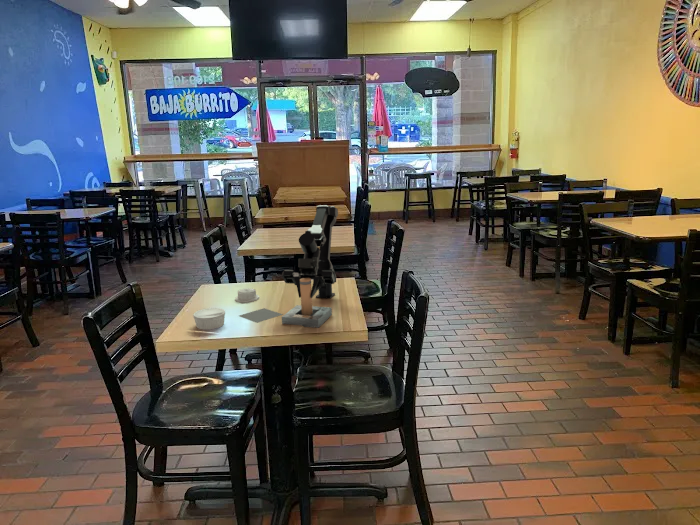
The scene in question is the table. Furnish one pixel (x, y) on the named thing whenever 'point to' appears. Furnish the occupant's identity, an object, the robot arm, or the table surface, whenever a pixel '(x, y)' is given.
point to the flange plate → (307, 316)
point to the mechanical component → (247, 295)
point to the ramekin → (209, 318)
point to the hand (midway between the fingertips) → (305, 297)
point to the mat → (260, 315)
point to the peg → (306, 296)
